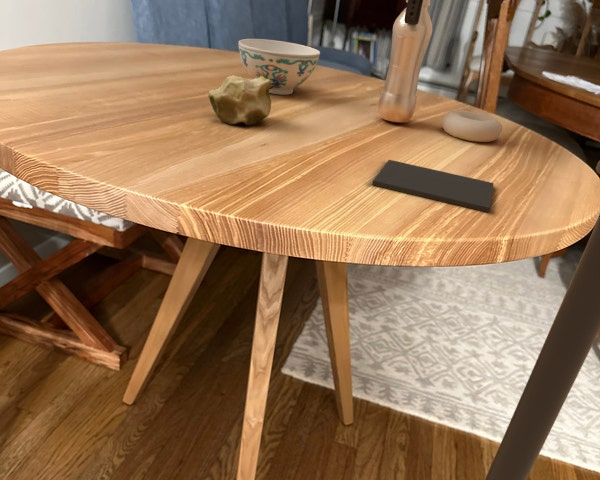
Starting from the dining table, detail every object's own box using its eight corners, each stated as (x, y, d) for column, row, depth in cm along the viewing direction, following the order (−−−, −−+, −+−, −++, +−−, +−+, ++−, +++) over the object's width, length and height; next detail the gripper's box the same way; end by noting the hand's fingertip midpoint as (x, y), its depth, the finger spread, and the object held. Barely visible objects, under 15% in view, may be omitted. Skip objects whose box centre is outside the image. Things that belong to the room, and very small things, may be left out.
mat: (492, 187, 74) (493, 183, 73) (489, 212, 65) (490, 207, 65) (387, 163, 77) (388, 159, 76) (371, 185, 68) (372, 180, 68)
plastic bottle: (374, 123, 95) (400, -11, 85) (375, 113, 101) (399, -13, 91) (412, 129, 95) (443, -5, 85) (410, 119, 101) (439, -7, 91)
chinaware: (328, 94, 110) (334, 52, 106) (287, 104, 99) (293, 57, 95) (264, 78, 116) (268, 37, 112) (219, 85, 105) (221, 40, 101)
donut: (431, 134, 94) (490, 148, 90) (436, 113, 93) (496, 126, 89) (450, 125, 102) (505, 138, 98) (455, 105, 100) (511, 117, 96)
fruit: (272, 126, 90) (286, 76, 85) (252, 145, 83) (266, 92, 78) (220, 104, 91) (230, 54, 86) (195, 121, 83) (205, 67, 78)
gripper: (462, -110, 75) (431, 29, 83) (470, -97, 87) (442, 24, 95) (407, -116, 76) (382, 21, 85) (422, -102, 88) (399, 17, 97)
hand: (414, 22), depth 90 cm, fingers closed on plastic bottle, 6 cm apart
